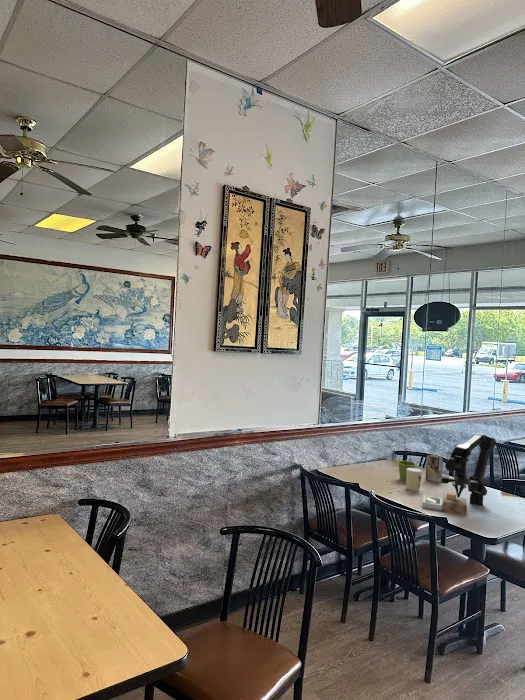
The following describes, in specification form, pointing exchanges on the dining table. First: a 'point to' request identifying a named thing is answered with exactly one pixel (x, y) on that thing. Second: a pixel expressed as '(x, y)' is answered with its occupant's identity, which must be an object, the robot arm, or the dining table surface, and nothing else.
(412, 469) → the coffee cup
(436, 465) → the coffee box
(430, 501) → the cream tile
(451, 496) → the terracotta tile
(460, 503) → the brown cream box
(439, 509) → the bin
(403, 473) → the plant pot
